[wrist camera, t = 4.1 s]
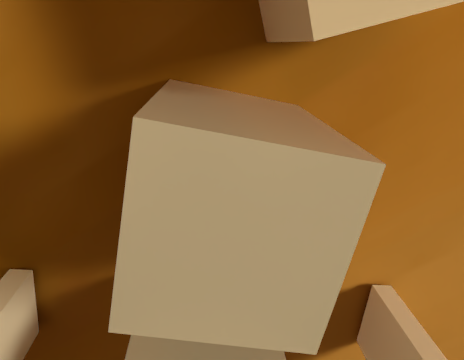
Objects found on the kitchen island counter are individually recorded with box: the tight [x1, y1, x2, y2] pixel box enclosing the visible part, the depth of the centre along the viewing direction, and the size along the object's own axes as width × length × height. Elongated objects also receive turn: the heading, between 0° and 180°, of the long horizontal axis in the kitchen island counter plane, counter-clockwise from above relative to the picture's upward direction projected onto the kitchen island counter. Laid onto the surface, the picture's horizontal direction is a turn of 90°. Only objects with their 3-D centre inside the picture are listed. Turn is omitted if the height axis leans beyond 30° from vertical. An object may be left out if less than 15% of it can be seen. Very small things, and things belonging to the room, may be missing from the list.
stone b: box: [108, 79, 386, 355], centre depth 9 cm, size 4×4×6 cm
